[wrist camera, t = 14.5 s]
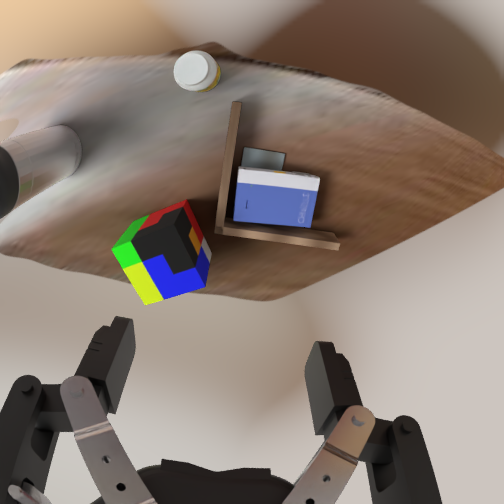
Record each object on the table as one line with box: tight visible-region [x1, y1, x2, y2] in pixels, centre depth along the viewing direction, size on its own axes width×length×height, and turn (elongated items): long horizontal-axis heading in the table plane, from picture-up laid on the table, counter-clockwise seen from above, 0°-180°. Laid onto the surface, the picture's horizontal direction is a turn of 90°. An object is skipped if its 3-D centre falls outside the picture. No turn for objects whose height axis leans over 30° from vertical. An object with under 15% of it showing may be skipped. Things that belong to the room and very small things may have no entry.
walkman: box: [233, 166, 320, 228], centre depth 46 cm, size 8×3×12 cm
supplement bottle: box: [174, 51, 221, 92], centre depth 34 cm, size 5×5×10 cm
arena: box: [214, 102, 340, 250], centre depth 44 cm, size 19×19×4 cm
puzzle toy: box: [112, 200, 212, 305], centre depth 46 cm, size 10×10×10 cm
